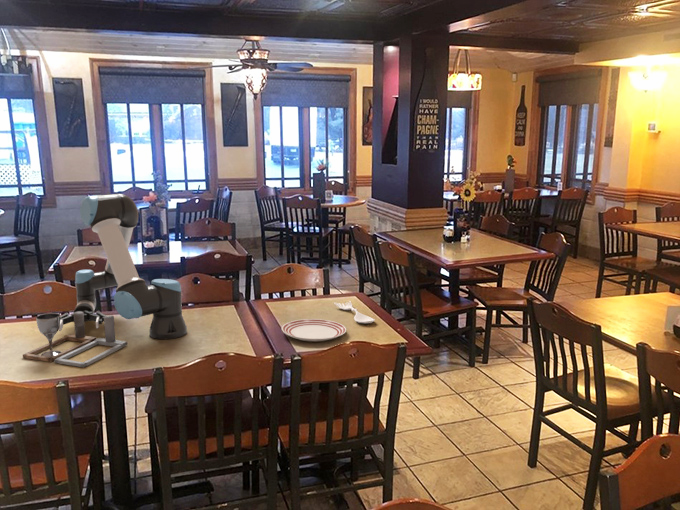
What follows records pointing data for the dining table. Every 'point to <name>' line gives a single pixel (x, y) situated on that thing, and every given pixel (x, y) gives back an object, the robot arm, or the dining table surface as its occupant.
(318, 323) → the dinner plate
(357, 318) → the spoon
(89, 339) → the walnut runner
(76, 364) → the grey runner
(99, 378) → the dining table surface
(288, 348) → the dining table surface
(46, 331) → the wine glass
